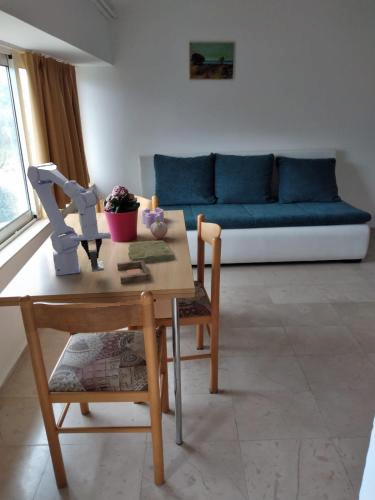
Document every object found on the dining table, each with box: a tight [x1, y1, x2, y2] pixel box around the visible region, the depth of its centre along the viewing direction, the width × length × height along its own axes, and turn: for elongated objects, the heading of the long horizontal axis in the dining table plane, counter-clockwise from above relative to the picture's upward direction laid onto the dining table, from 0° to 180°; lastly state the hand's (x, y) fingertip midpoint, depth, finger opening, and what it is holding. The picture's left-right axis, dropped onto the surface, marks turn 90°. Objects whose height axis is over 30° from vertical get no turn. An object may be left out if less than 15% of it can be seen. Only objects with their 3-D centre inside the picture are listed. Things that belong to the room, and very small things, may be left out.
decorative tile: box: [127, 239, 174, 264], centre depth 168 cm, size 19×20×4 cm
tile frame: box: [116, 260, 151, 285], centre depth 148 cm, size 11×15×2 cm
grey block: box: [89, 248, 105, 273], centre depth 142 cm, size 4×8×7 cm, turn 15°
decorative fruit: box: [149, 220, 168, 240], centre depth 186 cm, size 9×8×10 cm
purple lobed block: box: [141, 207, 165, 230], centre depth 212 cm, size 20×12×7 cm, turn 5°
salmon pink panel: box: [126, 268, 142, 276], centre depth 148 cm, size 5×5×2 cm
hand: (93, 258), depth 141 cm, fingers closed on grey block, 2 cm apart
